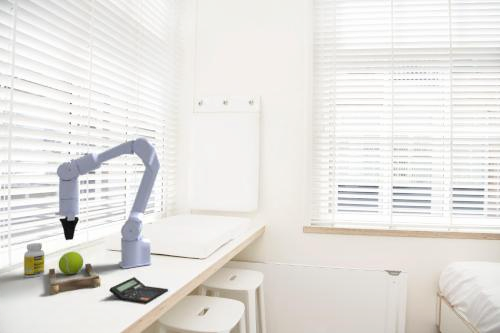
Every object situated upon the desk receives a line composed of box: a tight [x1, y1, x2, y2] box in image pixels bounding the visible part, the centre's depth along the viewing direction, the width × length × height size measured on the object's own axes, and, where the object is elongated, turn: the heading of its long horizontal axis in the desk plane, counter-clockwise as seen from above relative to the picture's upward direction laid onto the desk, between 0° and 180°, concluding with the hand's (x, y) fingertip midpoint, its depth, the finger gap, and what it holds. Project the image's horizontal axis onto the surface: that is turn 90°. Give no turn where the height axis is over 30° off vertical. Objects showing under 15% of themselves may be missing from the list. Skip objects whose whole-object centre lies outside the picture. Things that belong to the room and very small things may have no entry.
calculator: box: [109, 276, 169, 305], centre depth 92 cm, size 9×12×3 cm
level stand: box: [48, 263, 101, 296], centre depth 104 cm, size 12×22×2 cm, turn 32°
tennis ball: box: [58, 251, 84, 276], centre depth 110 cm, size 7×7×7 cm
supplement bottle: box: [23, 242, 45, 279], centre depth 109 cm, size 5×5×10 cm
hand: (69, 239), depth 115 cm, fingers closed
